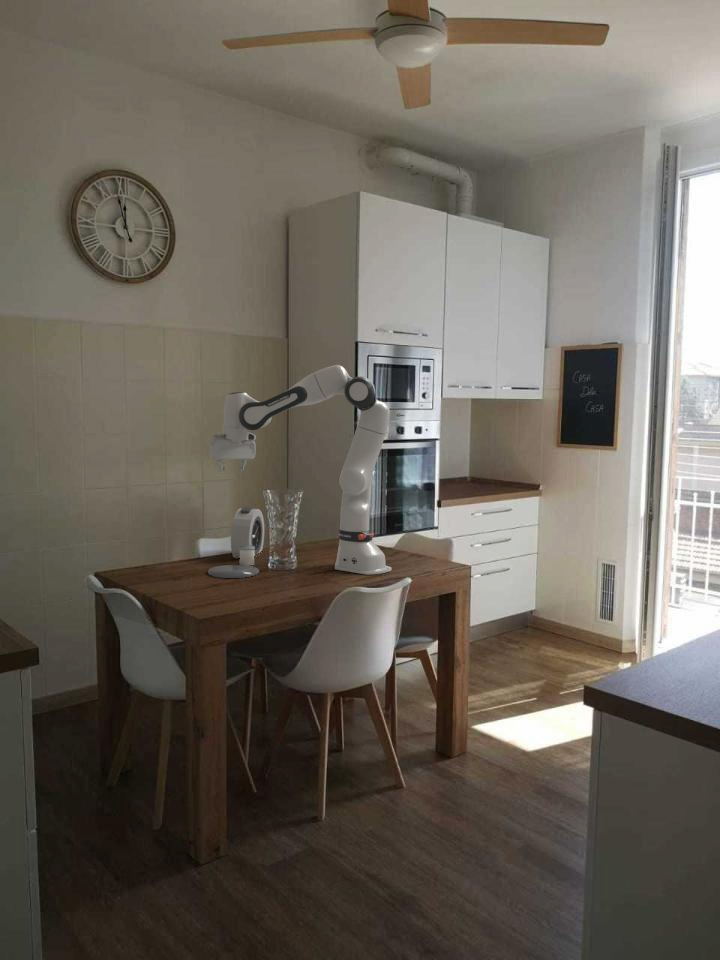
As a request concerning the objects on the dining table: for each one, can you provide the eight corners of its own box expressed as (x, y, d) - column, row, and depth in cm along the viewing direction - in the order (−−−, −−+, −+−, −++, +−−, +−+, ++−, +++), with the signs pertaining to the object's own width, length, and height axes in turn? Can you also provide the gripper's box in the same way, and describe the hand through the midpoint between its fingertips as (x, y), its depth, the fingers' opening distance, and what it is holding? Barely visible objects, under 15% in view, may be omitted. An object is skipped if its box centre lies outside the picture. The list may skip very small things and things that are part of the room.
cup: (257, 565, 289) (258, 547, 289) (245, 567, 285) (245, 548, 285) (248, 562, 293) (248, 544, 293) (236, 564, 289) (236, 546, 289)
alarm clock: (248, 561, 296) (249, 510, 294) (230, 560, 297) (230, 509, 295) (264, 551, 317) (264, 503, 315) (246, 550, 318) (247, 502, 316)
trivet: (269, 573, 275) (269, 571, 275) (227, 581, 263) (227, 578, 263) (238, 565, 288) (238, 562, 288) (198, 572, 275) (198, 569, 275)
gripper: (217, 435, 279) (214, 472, 281) (259, 436, 295) (256, 471, 296) (206, 433, 283) (204, 470, 285) (248, 434, 299) (245, 469, 300)
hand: (231, 471), depth 291 cm, fingers open, 8 cm apart
